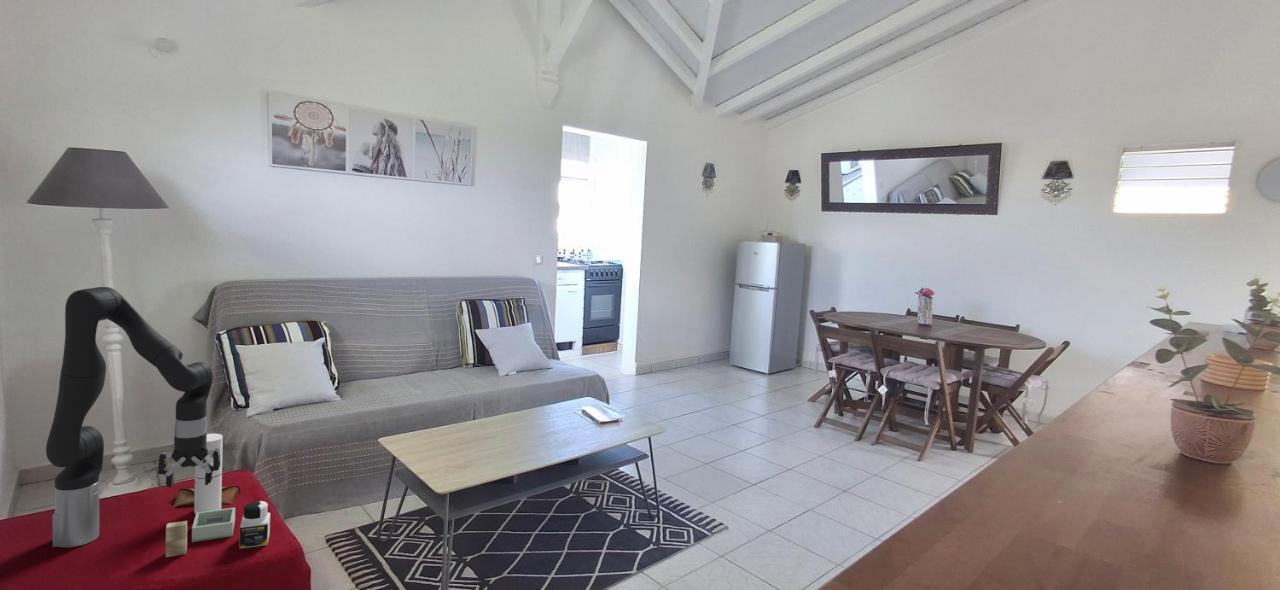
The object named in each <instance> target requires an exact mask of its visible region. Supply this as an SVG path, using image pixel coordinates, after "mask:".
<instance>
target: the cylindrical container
mask: <svg viewBox="0 0 1280 590" xmlns="http://www.w3.org/2000/svg"><path fill="white" fill-rule="evenodd" d="M223 439H224V436H223V435H222V434H220V433H207V445H206V447H207V450H208V451H209V450H215V449H216V448H219V449H220V467H219V469H218V470H217V471H213V472H212V480H211V482H210V483H209V484H208V485H205V473H206V471H205V470H204V469H202V468H200V467H199V466H198V465H197V466H194V488H195V502H194V506H193V507H194V508H193V509H194V510H193V511H194V514H195V515H196V513H197V512H204V511H212V510H220V509H222V504H221V491H222V487H223V486H222V485H223V484H222V483H223V482H222V481H223V478H222V477H223ZM205 459H206V460H207V461H208V462H209V464H210V465H211V466H213V465H214V463H213V458H211V457H210V455H207V456H206V457H205Z"/></svg>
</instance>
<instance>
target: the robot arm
mask: <svg viewBox="0 0 1280 590" xmlns="http://www.w3.org/2000/svg"><path fill="white" fill-rule="evenodd" d="M67 297H68V298H67V299H66V302H65V310H64V311H65V312H64V321H65V322H64V325H65V329H64V331H65V333H64V334H65V335H64V344H63V345H64V346H63V347H64V348H63V357H62V364H61V369H60V376H59V384H58V394H57V400H56V405H55V410H54V411H55V412H54V416H53V420H52V424H51V427H50V430H49V434H48V437H47V440H46V446H45V453H46V458H47V460H48V461H49V463H50V464H51V465H53V466H54V467H58V468H63V470H62V471H60V472H59V473H58V474H57V475H56V476H55V477H54V510H55V511H54V512H53V514H52V519H51V520H52V548H57V547H58V548H75V547H80V546H84V545H86V544H89V543H91V542H93V541H95V540H97V539H98V538H99V537H100V474H101V472H102V471H103V466H104V454H105V453H104V452H105V451H104V450H105V441H104V438H103V434H102V433H101V432H100V431H99V429H98V428H96V427H94V426H89V425H86V426H85V425H84V426H83V424H84V421H85V419H86V416H87V414H89V412H90V410H91V409H92V407H93V406H94V404H95V403H96V402H97V399H99V397H100V396H101V394H102V392H103V389H104V387H105V386H104V385H105V381H106V374H107V364H106V360H105V358H104V356H103V354H102V353H101V350H100V349H99V346H98V345H97V340H96V338H97V337H96V336H97V330H98V325H99V321H100V322H101V321H105V320H108V321H110V322H111V323H113V324H116V325H117V326H118V327H120V328H121V329H122V330H123V331H124V332H125V333H126V335H127V337H128V339H129V341H130V343H131V346H132V347H133V349H134V350H135V352H137V354H138V355H139V356H141V357H142V358H143V359H145V361H147V362H148V363H149V364H151V365H152V366H154V367H155V368H156V369H157V370H158V372H159V373H160V375H161V376H162V377H163V379H165V382H167V384H168V385H169V386H170V387H171V388H173V389H174V390H176V391H179V392H182V393H183V394H182V395H181V396H180V398H178V399H177V400H176V402H175V403H176V404H175V420H174V421H175V422H174V426H173V436H174V437H173V452H168V451H166V450H163V451H162V452H161V453H160V454H159V456H158V465H157V466H158V468H157V474H158V475H165V486H166V487H168V488H169V489H172V488H173V486H174V482H175V481H174V480H175V473H174V472H175V471H176V470H177V469H178V468H179V467H182V468H187V467H193V468H195V466H197V465H198V466H199V467H200V468H202V469H204V470H205V471H206V473H205V485H208V484H209V483H210V482H211V480H212V472H213V471H217V470H218V469H219V467H220V449H219V448H216V449H215V450H209V451H208V450H207V447H206V445H207V434H208V432H207V431H208V421H207V420H208V419H207V401H208V398H209V395H210V392H211V390H212V389H211V388H212V384H213V380H214V376H213V370H212V368H211V367H210V365H208V364H207V363H205V362H201V361H198V362H196V361H195V362H193V363H190V364H187V365H186V364H184V363H183V362H182V361H181V360H182V359H183V357H184V356H183V352H182V351H181V349H180V348H178V347H177V346H175V345H174V344H173V343H171V342H170V341H169V340H168V339H166V337H164V336H162V335H161V334H160V333H159V332H158V331H156V330H155V329H154V328H153V327H152V325H150V324H149V323H148V322H147V321H146V320H145V319H144V318H143V317H142V315H141V314H140V313H139V312H138V311H137V310H136V309H135V308H134V307H133V306H132V304H131V303H130V302H129V301H128V300H127V299H126V298H125V297H124V296H123V295H122V294H121V293H120V292H118V291H117V290H116V289H114V288H112V287H108V286H98V287H92V288H91V287H90V288H83V289H78V290H76V291H73V292H72V293H70V295H69V296H67ZM207 455H210V457H211V458H213V463H214V465H213V466H211V465H210V464H209V462H208V461H207V460H206V459H205V457H206V456H207ZM170 458H171V459H173V460H174V461H175V462H174V463H173V464H172V465H171V466H170V467H169V468H166V467H167V461H168V460H170Z"/></svg>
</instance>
